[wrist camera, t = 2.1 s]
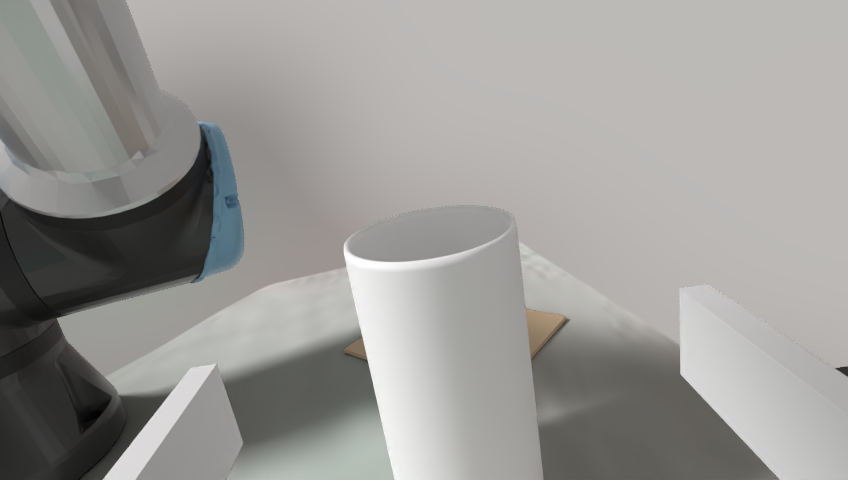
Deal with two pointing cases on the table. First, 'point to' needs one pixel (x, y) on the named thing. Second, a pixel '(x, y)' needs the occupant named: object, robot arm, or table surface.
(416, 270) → the cup
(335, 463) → the table surface
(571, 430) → the table surface
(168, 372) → the table surface
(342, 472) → the table surface
